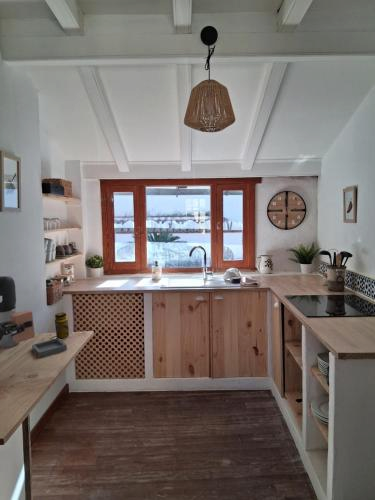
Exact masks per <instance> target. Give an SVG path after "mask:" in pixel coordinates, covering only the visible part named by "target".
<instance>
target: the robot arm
mask: <svg viewBox="0 0 375 500" xmlns="http://www.w3.org/2000/svg"><path fill="white" fill-rule="evenodd" d="M16 291H17V290H16V282H15V280H14V278H13V277H12V276H8V275H6V276H5V275H4V276H1V275H0V297H1V301H0V348H1V349H4V348H12V347H14V346H18V345H19V344H20V343H21V342H19V343H18V342H15V341H13V336H14V335H16V334H19V333H21V332H23V331H25V328H28V327H31V326H32V325H33V324H34V323H33V324H32V321H29V322H25V323H21V324H18V325H17V324H11V320H10V314H14V313H17V308H16V304H17V303H16V302H17V296H16V295H17V293H16ZM14 326H15V328H14ZM20 328H21V329H20Z"/></svg>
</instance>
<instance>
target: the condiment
mask: <svg viewBox="0 0 375 500" xmlns="http://www.w3.org/2000/svg"><path fill="white" fill-rule="evenodd" d="M54 317H55V318H54V319H55V320H54V326H55V334H56V335H55V336H51V337H50V340H52V338H54V337H57V338H59V339H63V340H65V339H64V338H66V339H68V338H67V337H69V335H70V329H69V320H68V319H69V318H68V316H67V313H66V312H58V313H56V314H55V315H54ZM70 336H71V337H70V338H72V337H73V335H70Z"/></svg>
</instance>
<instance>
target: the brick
mask: <svg viewBox="0 0 375 500" xmlns="http://www.w3.org/2000/svg"><path fill="white" fill-rule="evenodd" d="M10 320H11V324H17V325H18V324H21V323H25V322H29V321H32V324H33V325H32V326H31V327H28V328H25V331H23V332H21V333H19V334H16V335H14V336H13V341H15V342H18V343H19V342H20V343H22V342H25V341H28V340H31V339H34V338H36V336H35V335H36V334H35V328H34V327H35V326H34V318H33V311H31V310H27V309H25V310H22V311H18V312H17V311H16V313H14V314H10ZM14 328H15V326H14ZM20 329H21V328H20ZM20 343H19V344H20Z"/></svg>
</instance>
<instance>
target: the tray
mask: <svg viewBox="0 0 375 500" xmlns="http://www.w3.org/2000/svg"><path fill="white" fill-rule="evenodd" d="M31 348H32V351H33V352H34V354H36V355H37V356H38V358H41V357H42V358H43V357H45V356H49V355H52V354H56V353H61V352H63V351H68V346H67V344H66V343H65V342H64V341H63V340H60V339H59V338H56V339H50V340H46V341H41V342H37V343H35V344H34V343H33V344H31Z"/></svg>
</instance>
